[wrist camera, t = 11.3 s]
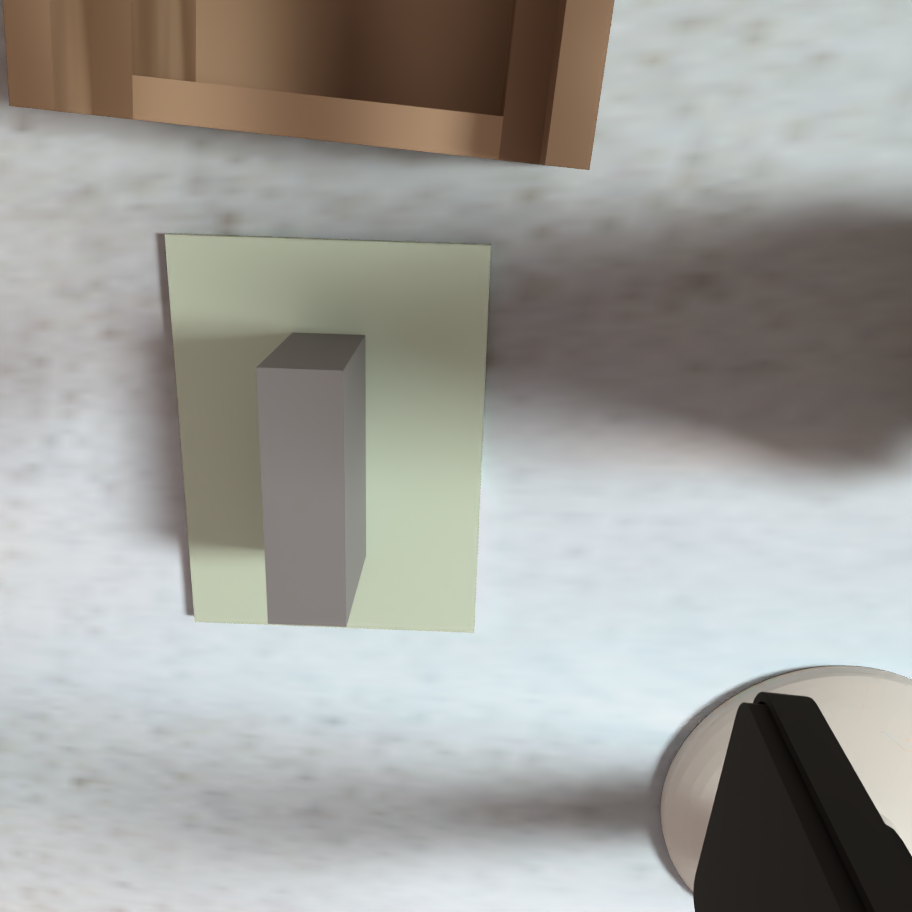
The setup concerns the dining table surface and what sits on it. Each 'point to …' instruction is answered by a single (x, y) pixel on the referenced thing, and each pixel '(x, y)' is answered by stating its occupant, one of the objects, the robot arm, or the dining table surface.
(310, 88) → the walnut box
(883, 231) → the dining table surface
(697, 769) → the candlestick
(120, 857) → the dining table surface
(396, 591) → the cover plate
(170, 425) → the dining table surface
